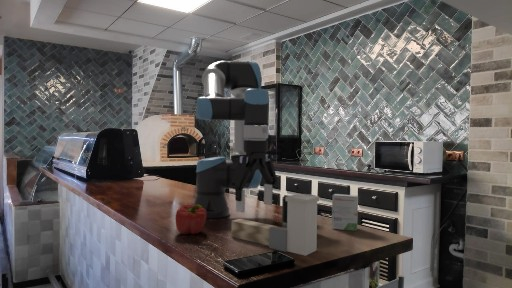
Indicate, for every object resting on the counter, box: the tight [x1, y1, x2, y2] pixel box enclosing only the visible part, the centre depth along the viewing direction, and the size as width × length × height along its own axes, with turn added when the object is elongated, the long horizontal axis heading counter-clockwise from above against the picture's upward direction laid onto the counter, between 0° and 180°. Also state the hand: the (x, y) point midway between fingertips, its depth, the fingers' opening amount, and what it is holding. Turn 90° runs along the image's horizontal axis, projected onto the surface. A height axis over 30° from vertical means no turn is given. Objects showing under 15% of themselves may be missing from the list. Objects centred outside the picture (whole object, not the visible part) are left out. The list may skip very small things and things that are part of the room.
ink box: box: [331, 193, 359, 232], centre depth 127 cm, size 9×5×12 cm, turn 71°
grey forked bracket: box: [269, 193, 320, 256], centre depth 103 cm, size 12×8×15 cm, turn 51°
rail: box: [230, 218, 287, 246], centre depth 110 cm, size 21×4×5 cm, turn 51°
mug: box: [281, 195, 288, 223], centre depth 136 cm, size 9×12×9 cm
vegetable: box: [175, 204, 207, 235], centre depth 118 cm, size 11×10×10 cm
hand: (254, 208), depth 112 cm, fingers open, 13 cm apart
